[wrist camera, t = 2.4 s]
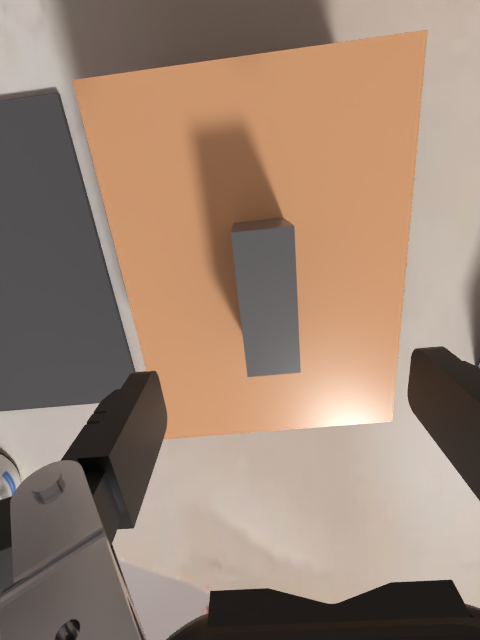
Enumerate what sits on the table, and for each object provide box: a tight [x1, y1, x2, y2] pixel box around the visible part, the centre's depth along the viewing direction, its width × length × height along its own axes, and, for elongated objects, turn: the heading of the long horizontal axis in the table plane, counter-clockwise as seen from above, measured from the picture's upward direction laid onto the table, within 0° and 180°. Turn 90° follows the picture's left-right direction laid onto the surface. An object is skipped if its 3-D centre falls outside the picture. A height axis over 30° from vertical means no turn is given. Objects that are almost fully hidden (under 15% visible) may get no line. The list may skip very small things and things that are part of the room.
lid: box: [72, 30, 428, 439], centre depth 19 cm, size 18×24×6 cm
